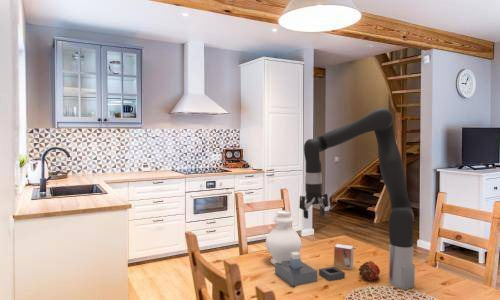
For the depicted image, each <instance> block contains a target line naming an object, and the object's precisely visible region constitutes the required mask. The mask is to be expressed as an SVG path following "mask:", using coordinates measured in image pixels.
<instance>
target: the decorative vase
mask: <svg viewBox="0 0 500 300" xmlns="http://www.w3.org/2000/svg"><path fill="white" fill-rule="evenodd" d="M275 214H276V216H275V217H274V219H273V222H274V223H275V224H276V226H275V227H274V228H273V229H272V230H270V232H269V234H268V235H267V237H266V238H265V248H266V250H267V252H268V253H269V254H270V256H271V257H272V258H271V259H270V263H271V264H272V265H274V266H275V263H277V262H283V261H289V260H291V253H292V252H298V253H300V251H301V249H302V243H303V242H302V240H301V237H300V235H299V234H298V232H297V231H296V230H295V229H294V228H293V227H292V226H291V225H292V224H293V223H294V218H293V217H292V216H291V215H292V211H290V210H287V209H285V210H284V209H283V210H282V209H280V210H276V212H275Z"/></svg>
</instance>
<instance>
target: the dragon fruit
mask: <svg viewBox="0 0 500 300" xmlns="http://www.w3.org/2000/svg"><path fill="white" fill-rule="evenodd" d="M358 271H359V273H358V274H359V276H361V277H362V278H363V279H364V280H367V281H378V279H379V275H380V272H381V270H380V267H379V266H378V265H377V264H376V263H375V262H374V261H371V260H370V261H366V262H364V263H363V264H362V265H360V266H359V268H358Z"/></svg>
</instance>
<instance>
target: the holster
mask: <svg viewBox="0 0 500 300" xmlns="http://www.w3.org/2000/svg"><path fill="white" fill-rule="evenodd" d="M318 275H319V276H320V277H322V278H324V279H326V280H327V281H328V282H331V281H332V282H333V281H338V280H342V279H343V280H344V279H345V277H346V272H345V271H343V270H341V269H340V268H336V267H334V265H332V266H329V267H328V266H327V267H322V268H319V269H318Z"/></svg>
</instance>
